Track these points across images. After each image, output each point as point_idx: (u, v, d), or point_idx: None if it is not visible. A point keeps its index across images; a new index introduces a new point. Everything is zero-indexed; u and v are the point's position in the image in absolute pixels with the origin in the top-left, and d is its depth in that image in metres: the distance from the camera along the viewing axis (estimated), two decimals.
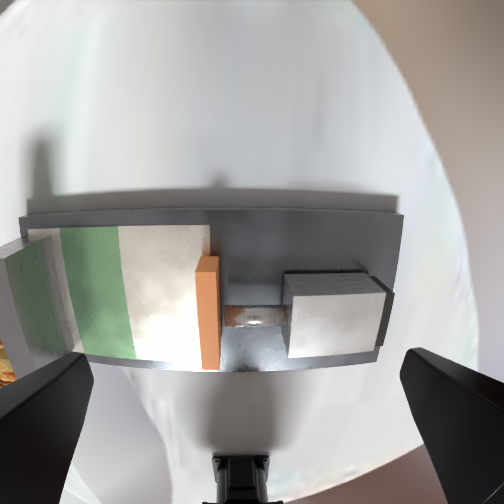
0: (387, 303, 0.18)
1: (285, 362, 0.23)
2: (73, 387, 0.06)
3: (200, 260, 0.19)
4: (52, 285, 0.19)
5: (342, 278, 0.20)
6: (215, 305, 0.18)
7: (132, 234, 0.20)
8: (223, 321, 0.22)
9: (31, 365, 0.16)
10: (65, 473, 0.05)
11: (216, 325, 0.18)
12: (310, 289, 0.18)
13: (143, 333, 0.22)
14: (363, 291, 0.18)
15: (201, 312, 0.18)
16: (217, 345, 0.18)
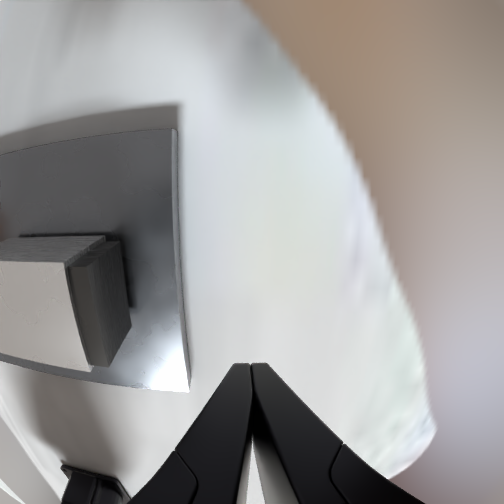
0: (79, 286, 0.09)
1: None
2: None
3: None
4: None
5: (54, 242, 0.11)
6: None
7: None
8: None
9: None
10: None
11: None
12: None
13: None
14: (35, 259, 0.08)
15: None
16: None
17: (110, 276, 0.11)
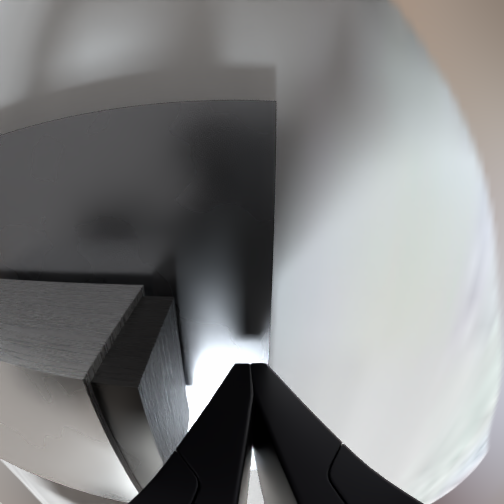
0: (121, 415, 0.04)
1: None
2: None
3: None
4: None
5: (52, 298, 0.06)
6: None
7: None
8: None
9: None
10: None
11: None
12: None
13: None
14: (20, 355, 0.04)
15: None
16: None
17: (167, 367, 0.06)
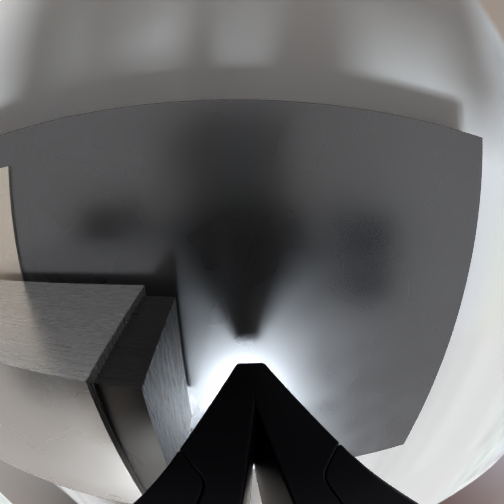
0: (125, 416, 0.04)
1: None
2: None
3: None
4: None
5: (53, 299, 0.06)
6: None
7: None
8: None
9: None
10: None
11: None
12: None
13: None
14: (22, 356, 0.04)
15: None
16: None
17: (169, 368, 0.06)
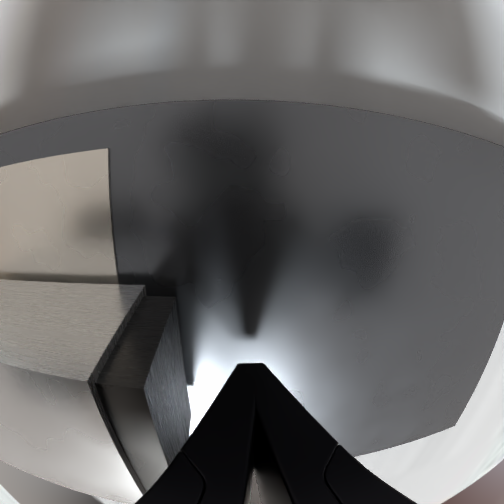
0: (126, 416, 0.04)
1: None
2: None
3: None
4: None
5: (53, 298, 0.06)
6: None
7: None
8: None
9: None
10: (250, 498, 0.05)
11: None
12: None
13: None
14: (22, 356, 0.04)
15: None
16: None
17: (170, 367, 0.06)
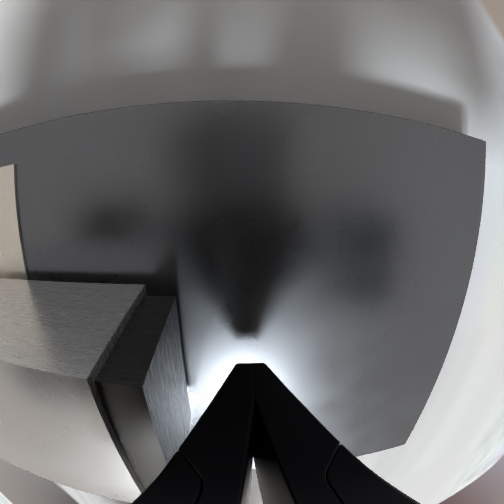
0: (125, 414, 0.04)
1: None
2: None
3: None
4: None
5: (54, 297, 0.06)
6: None
7: None
8: None
9: None
10: (248, 498, 0.05)
11: None
12: None
13: None
14: (22, 354, 0.04)
15: None
16: None
17: (169, 367, 0.06)
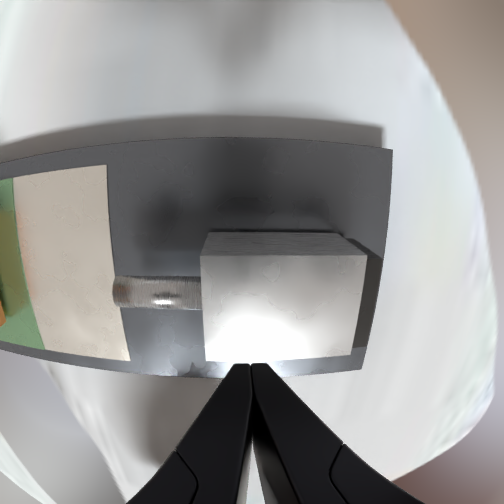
0: (370, 276, 0.11)
1: (226, 366, 0.16)
2: None
3: None
4: None
5: (297, 237, 0.13)
6: None
7: (26, 186, 0.13)
8: None
9: None
10: None
11: None
12: (234, 248, 0.11)
13: (46, 315, 0.15)
14: (326, 253, 0.11)
15: None
16: None
17: None
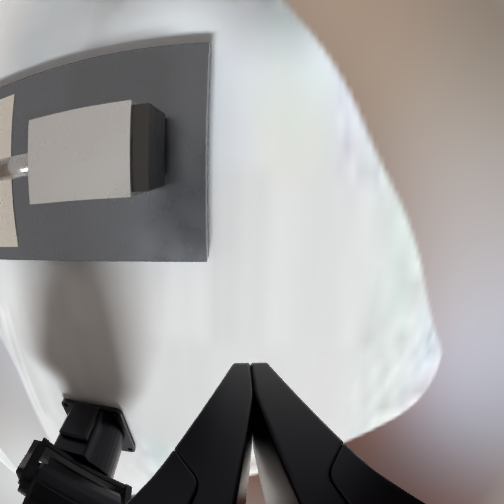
0: (139, 118, 0.12)
1: (79, 247, 0.17)
2: None
3: None
4: None
5: None
6: None
7: None
8: (20, 192, 0.16)
9: None
10: None
11: None
12: None
13: None
14: (103, 105, 0.11)
15: None
16: None
17: (158, 129, 0.13)
